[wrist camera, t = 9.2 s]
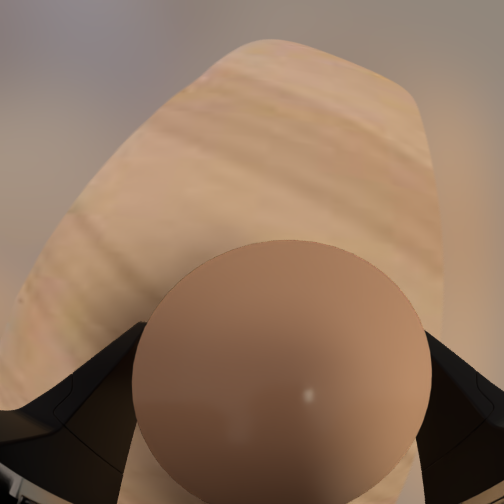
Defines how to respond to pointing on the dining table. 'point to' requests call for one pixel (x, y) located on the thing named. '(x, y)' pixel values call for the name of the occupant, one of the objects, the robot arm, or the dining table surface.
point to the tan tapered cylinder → (282, 376)
